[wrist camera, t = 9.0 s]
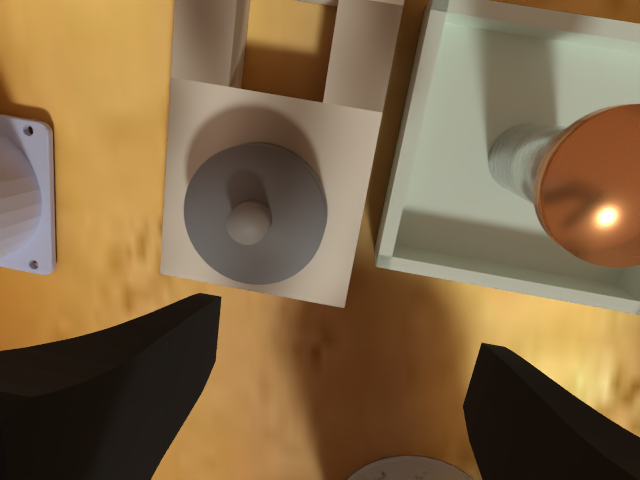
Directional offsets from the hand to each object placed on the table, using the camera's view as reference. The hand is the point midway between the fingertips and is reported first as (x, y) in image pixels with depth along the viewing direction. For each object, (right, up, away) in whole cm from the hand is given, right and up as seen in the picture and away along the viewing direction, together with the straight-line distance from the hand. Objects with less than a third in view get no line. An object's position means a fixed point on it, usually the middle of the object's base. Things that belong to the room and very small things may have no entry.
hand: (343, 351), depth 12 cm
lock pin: (+8, +7, +7) cm, 13 cm away
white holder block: (-2, +9, +8) cm, 12 cm away
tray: (+9, +7, +8) cm, 14 cm away
